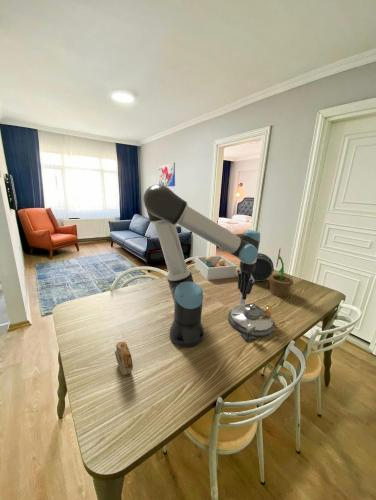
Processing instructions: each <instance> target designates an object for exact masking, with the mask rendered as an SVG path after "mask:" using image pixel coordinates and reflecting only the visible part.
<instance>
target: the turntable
mask: <svg viewBox="0 0 376 500" xmlns="http://www.w3.org/2000/svg"><path fill="white" fill-rule="evenodd" d="M245 305H246V304H241V305H240V304H238V305H236V306H234V307H232V308H231V310H230V311H231V318H232V320H233V321H234V322H235V323H236V324H237V325H238V326H240V327H242V328H244V329H246V327H247V325H248V324H250V323H252V324H254V325H255V330H254V331H255V332H263V331H267V330H269V329H270V328H271V327H272V325H273V321H274V318H273V316H272V312H273V307H272V306H270V305H267V306H266V308H265V309H263V308H261V313H260V318H259V319H258V320H250V319H247V318H246V317H245V316H244V315H243V311H244V306H245Z"/></svg>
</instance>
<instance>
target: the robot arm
mask: <svg viewBox="0 0 376 500" xmlns="http://www.w3.org/2000/svg"><path fill="white" fill-rule="evenodd" d="M142 199H143V203H144V207H145V209H146V212H147V215H148V219H149V223H152V224H153V225H154V226H155V230H156V233H157V237H158V241H159V243H160V247H161V251H162V254H163V258H164V260H165V264H166V268H167V270H168V273H167V275H166V279H167V282H168V287H169V290H170V293H171V297H172V300H173V304H174V305H173V306H174V308H173V309H174V312H173V313H174V314H173V321H172V323H171V325H170V328H169V334H168V335H169V339H170V341H171V342H172V343H173V344H174V345H176V346H178V347H179V348H180V347H181V348H194V347H197V346H199V345H200V344H202V343H203V340H204V337H205V336H204V335H205V331H204V328H203V324H202V312H203V311H202V310H203V301H204V292H203V288H202V286H200V285H199V284H198V283H196V282H195V281H194V278H193V274H192V270H191V269H190V268H189V267H187V264H186V259H185V256H184V252H183V249H182V246H181V241H180V237H179V234H178V230H177V226H176V225H179V226H180V227H183V228H184V229H186V230H187V231H190V232H191V233H193V234H195V235H197V236H199V237H200V238H201V239H203V240H206V241H207V242H209V243H211V244H213V245H215V246H216V247H218V248H219V250H220V251H223V252H227V253H228V254H231V255H232V256H234V257H235V258H237V259H239V260H240V262H239V269H238V270H237V269H236V271H237V289H239V300H238V305H246V300H247V295H250V294H251V292H252V290H253V286H254V284H255V283H256V282H257V281H256V279H254V278H253V271H254V270H255V267H256V260H257V255H258V253H259V248H260V247H259V246H260V242H261V233H260V232H259V231H257V230H254V229H247V230H244V233H243V234H235V233H234V232H232V231H230V230H229V229H227V228H225V227H223V226H222V225H220V224H219V223H217V222H215V221H214V220H212V219H210V218H208V217H206V216H205V215H203V214H202V213H200V212H199V211H197V210H195V209H194V208H192V207H190V206H189V205H188V202H187V201H186V200H184V199H182V198H181V197H180V196H178V194H176V193H175V192H173V191H172V190H171V189H170V188H169V187H168V186H165V185H162V184H153V185H151V186H149V187H148V188H146V190H145V191H144V194H143V198H142Z"/></svg>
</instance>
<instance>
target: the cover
mask: <svg viewBox="0 0 376 500" xmlns="http://www.w3.org/2000/svg"><path fill="white" fill-rule="evenodd" d="M244 305H245V306H244V311H243V315H244V316H245V317H246V318H247V319H250V320H258V319H259V318H260V313H261V309H262V308H261V307H260V306H259V305H256V304H255V303H247V304H246V303H245V304H244Z"/></svg>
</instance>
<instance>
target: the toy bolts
mask: <svg viewBox="0 0 376 500" xmlns="http://www.w3.org/2000/svg"><path fill="white" fill-rule="evenodd" d="M205 257H206V256H205ZM204 264H205V265H206V266H207V267H209V268H211V266H212V263H211V258H210V257H206V258H205V262H204ZM223 266H226V264H225V261H224V260H223V259H221V260H219V263H218V264H217V265H216V266H215V267H223Z"/></svg>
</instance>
